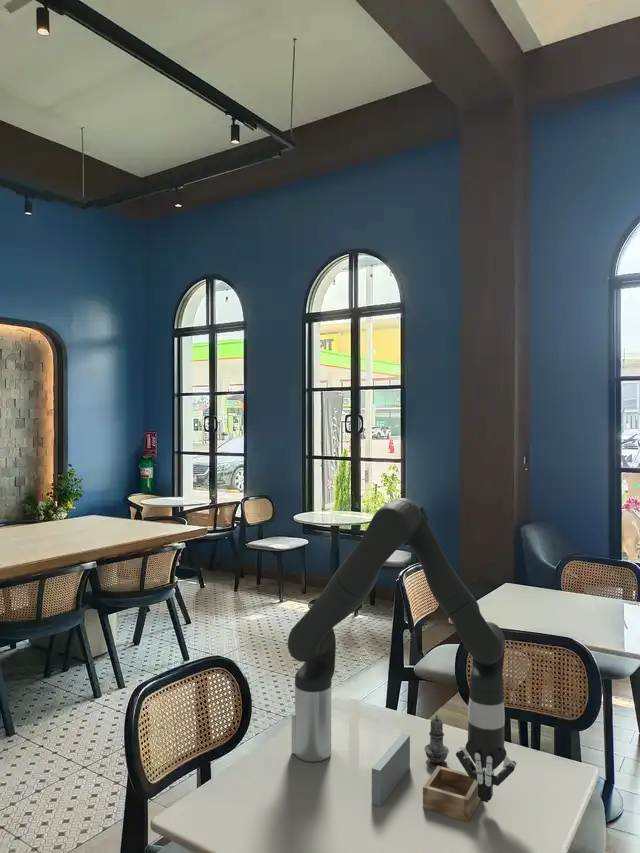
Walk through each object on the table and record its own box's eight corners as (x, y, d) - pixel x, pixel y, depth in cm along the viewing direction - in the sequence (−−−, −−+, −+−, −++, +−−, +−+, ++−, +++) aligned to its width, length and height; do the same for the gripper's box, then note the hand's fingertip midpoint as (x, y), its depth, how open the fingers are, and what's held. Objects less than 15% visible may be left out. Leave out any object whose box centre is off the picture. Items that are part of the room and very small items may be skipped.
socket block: (422, 808, 139) (422, 787, 139) (437, 785, 148) (437, 765, 148) (468, 821, 134) (468, 800, 134) (481, 797, 143) (481, 777, 143)
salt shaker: (448, 771, 154) (448, 721, 154) (423, 769, 155) (423, 719, 155) (448, 759, 159) (449, 711, 159) (424, 756, 161) (424, 708, 160)
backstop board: (371, 804, 140) (371, 768, 140) (402, 766, 156) (402, 733, 156) (380, 807, 139) (380, 770, 139) (409, 768, 155) (409, 735, 155)
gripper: (450, 719, 137) (449, 800, 137) (513, 734, 131) (513, 819, 131) (460, 705, 144) (460, 782, 144) (521, 719, 137) (520, 800, 138)
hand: (485, 799), depth 137 cm, fingers closed
